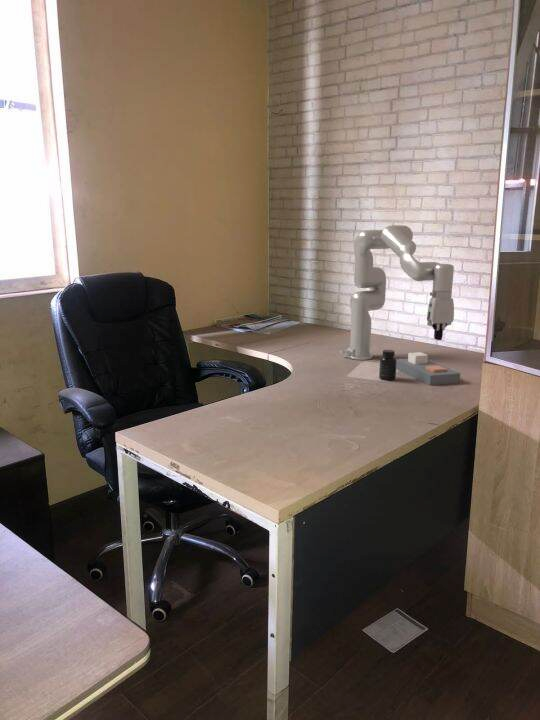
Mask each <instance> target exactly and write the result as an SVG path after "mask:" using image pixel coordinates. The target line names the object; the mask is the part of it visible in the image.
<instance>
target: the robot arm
mask: <svg viewBox="0 0 540 720" xmlns="http://www.w3.org/2000/svg"><path fill="white" fill-rule="evenodd" d="M413 237H414V236H413V231H412V229H411V228H410V227H409V226H407V225H402V224H401V225H395V224H393V225H388V226H385V227H384V228H383V229H367V230H362V231H360V232H359V233H358V234H357V235H356V236H355V239H354V241H353V251H354V269H353V271H354V274H353V282H354V286H356V287H357V288H359V289H367V288H368V289H369V290H359V291H356V292H353V294H352V295H351V296H350V297H349V306H350V317H351V319H350V336H349V337H350V339H349V346H348V347H347V348H346V349H340V354H342V355H343V354H345V357H346V358H348V359H351V360H357V361H359V360H360V361H363V360H371V359H373V357H374V356H373V354H372V353H370V352H371V340H372V339H371V338H372V318H371V315H370V312H371V311H378V310H380V309H382V308H383V307H384V305H385V303H386V292H387V291H386V290H387V289H386V288H387V276H386V273H385V270H384V269H382V268H381V267H378V266H374V256H373V253H372V251H371V250H387V249H390V250H391V251H392V252H393V253H395V255H396V256H398V258H399V265H400V267H401V269H402V271H403V272H404V273H405V274H406V275H407V276H409V278H411V279H412V280H414V281H417V282H424V281H429V282H430V281H433V282H432V290H431V292H429V296H430V298H429V303H428V306H427V313H426V320H427V322H426V325H427V326H429V327H431V328H433V330H434V331H433V332H434V333H433V339H434V340H437V341H442V340H443V336H444V335H443V334H444V331H445V328H447V327H448V326H451V325H452V323H453V322H454V319H455V317H454V316H455V304H454V299H453V298H452V295H453V284H454V274H455V266H454V265H453V264H451V263H441V262H437V261H425V262H424V261H421V262H420V261H419V260H417V259H416V258H415V256H413V255H414V254H415V252H416V251H417V244H416V243H415V242H414V241H413V239H414V238H413Z"/></svg>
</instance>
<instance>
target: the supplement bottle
mask: <svg viewBox="0 0 540 720" xmlns="http://www.w3.org/2000/svg"><path fill="white" fill-rule="evenodd" d="M395 354H396V353H395V350H393V349H383V350H382V356H380V358H379V370H378V371H379V374H378V377H379V380H381V381H385V380H386V381H388V382H389V381H390V382H391V381H394V380H396V377H397V369H396V364H397V357H395ZM386 381H385V382H386Z"/></svg>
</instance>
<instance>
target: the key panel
mask: <svg viewBox="0 0 540 720" xmlns="http://www.w3.org/2000/svg"><path fill="white" fill-rule="evenodd" d="M396 359H397V358H396ZM436 365H438V366H441V367H443V368H446V372H436V373H433V372H430V371H428V370H426V369H425V368H426V366H436ZM396 370H398V371H400V372H402V373H403V374H406V375H408V374H409V375H408V376H410V377H411V378H412V377H413V379H416V380H418V381H421V382H422V383H425V384H426V385H429V386H436V385H448V384H449V383H450V384H459V383H458V382H460V380H461V373H460V372H459V371H457V370H454V369H451V368H449V367H447V366H443V365H441V364H440V363H437V362H434V361H433V360H429V359H428V361H427V364H413V363H410V362H408V358H398V359H397V364H396ZM450 384H449V385H450Z"/></svg>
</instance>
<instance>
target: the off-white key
mask: <svg viewBox="0 0 540 720" xmlns="http://www.w3.org/2000/svg"><path fill="white" fill-rule="evenodd" d="M428 356H429V355H428V354H427V353H423V352H422V351H421V352H420V351H418V352H408V355H407V359H408V362H410V363H413V364H427V361H428V360H429V357H428Z"/></svg>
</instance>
